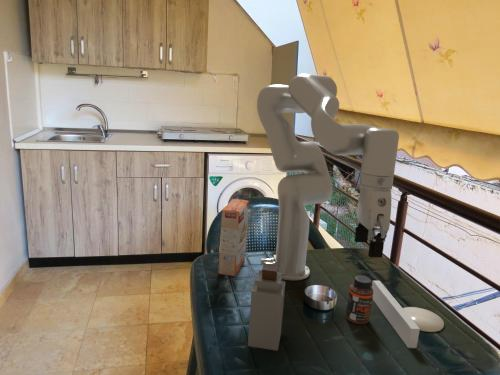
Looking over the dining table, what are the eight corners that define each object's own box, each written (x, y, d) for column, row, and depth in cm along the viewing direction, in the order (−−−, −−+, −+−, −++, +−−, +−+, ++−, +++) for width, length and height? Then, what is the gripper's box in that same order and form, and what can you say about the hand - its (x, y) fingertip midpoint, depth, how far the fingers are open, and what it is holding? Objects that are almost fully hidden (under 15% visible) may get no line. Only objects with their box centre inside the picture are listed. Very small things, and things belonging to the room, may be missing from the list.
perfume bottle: (277, 350, 91) (284, 276, 87) (247, 345, 92) (252, 271, 88) (280, 333, 97) (286, 263, 93) (252, 329, 98) (257, 259, 94)
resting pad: (409, 331, 101) (410, 330, 101) (391, 308, 112) (391, 306, 112) (452, 332, 102) (452, 330, 102) (430, 308, 113) (430, 307, 113)
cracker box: (236, 277, 125) (240, 211, 120) (217, 274, 126) (220, 209, 121) (246, 259, 138) (250, 199, 133) (228, 257, 139) (232, 197, 134)
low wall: (408, 348, 95) (411, 328, 94) (370, 296, 118) (372, 280, 117) (416, 348, 95) (419, 328, 94) (377, 296, 118) (379, 280, 117)
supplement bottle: (355, 327, 102) (360, 285, 99) (340, 315, 107) (345, 275, 104) (374, 323, 104) (380, 282, 102) (359, 311, 109) (364, 272, 107)
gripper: (407, 190, 89) (397, 263, 93) (377, 174, 106) (369, 237, 110) (374, 189, 88) (365, 263, 92) (349, 173, 105) (342, 236, 109)
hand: (367, 248), depth 101 cm, fingers open, 9 cm apart
